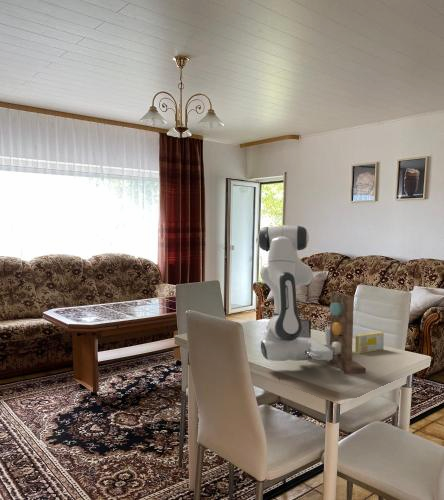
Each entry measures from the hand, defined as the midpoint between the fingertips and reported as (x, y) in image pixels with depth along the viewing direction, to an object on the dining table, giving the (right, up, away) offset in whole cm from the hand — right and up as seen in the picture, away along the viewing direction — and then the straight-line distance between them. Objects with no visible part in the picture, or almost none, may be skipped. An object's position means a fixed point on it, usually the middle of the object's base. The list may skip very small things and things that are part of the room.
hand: (333, 348), depth 174 cm
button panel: (+6, -8, +1) cm, 10 cm away
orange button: (+2, +6, 0) cm, 6 cm away
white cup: (+7, -7, +28) cm, 30 cm away
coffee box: (-11, -7, +19) cm, 23 cm away
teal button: (+1, +14, -1) cm, 14 cm away
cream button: (+2, -2, 0) cm, 3 cm away
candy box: (+23, -8, +26) cm, 36 cm away
